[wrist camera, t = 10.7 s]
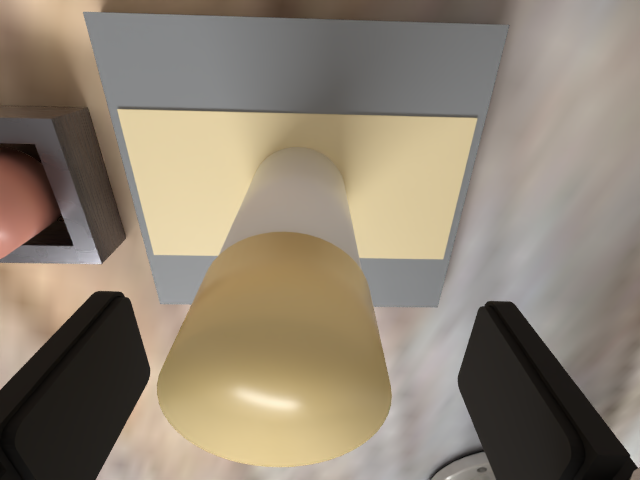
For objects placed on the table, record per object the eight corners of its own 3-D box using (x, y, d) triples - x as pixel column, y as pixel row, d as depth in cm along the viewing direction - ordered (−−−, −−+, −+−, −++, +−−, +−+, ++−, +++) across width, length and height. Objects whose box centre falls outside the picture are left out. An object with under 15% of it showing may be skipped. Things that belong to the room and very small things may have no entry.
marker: (350, 145, 15) (408, 319, 6) (343, 236, 18) (378, 467, 8) (245, 143, 15) (130, 316, 6) (253, 234, 18) (179, 466, 8)
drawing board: (495, 25, 14) (510, 24, 13) (431, 294, 21) (438, 308, 20) (100, 13, 14) (81, 11, 13) (168, 290, 21) (159, 305, 20)
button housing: (87, 107, 16) (51, 118, 13) (125, 238, 19) (101, 264, 17) (-68, 103, 15) (-130, 114, 13) (-1, 236, 19) (-41, 261, 17)
